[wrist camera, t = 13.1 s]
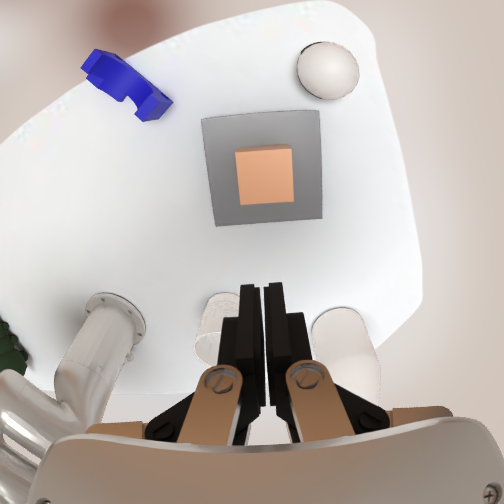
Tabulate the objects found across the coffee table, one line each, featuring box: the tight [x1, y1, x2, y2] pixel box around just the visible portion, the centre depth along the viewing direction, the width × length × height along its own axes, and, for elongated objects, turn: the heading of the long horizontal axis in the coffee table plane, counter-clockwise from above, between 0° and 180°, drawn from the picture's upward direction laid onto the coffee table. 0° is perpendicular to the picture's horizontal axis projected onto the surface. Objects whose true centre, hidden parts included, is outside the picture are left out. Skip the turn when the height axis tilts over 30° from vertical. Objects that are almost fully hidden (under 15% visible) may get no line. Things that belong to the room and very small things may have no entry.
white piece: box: [297, 42, 359, 100], centre depth 28 cm, size 10×7×7 cm
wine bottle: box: [312, 308, 381, 406], centre depth 37 cm, size 10×10×30 cm
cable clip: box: [81, 49, 173, 122], centre depth 30 cm, size 12×4×6 cm, turn 45°
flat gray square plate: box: [201, 110, 322, 227], centre depth 36 cm, size 14×14×3 cm
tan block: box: [235, 144, 294, 205], centre depth 34 cm, size 6×6×7 cm
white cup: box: [193, 293, 240, 367], centre depth 44 cm, size 8×8×10 cm
